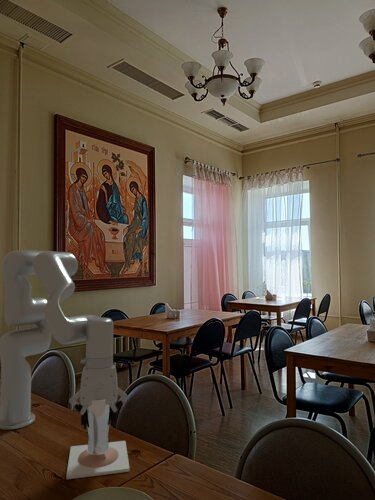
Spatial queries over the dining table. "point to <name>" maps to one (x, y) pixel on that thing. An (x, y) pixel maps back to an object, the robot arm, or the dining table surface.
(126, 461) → the card
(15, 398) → the robot arm
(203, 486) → the dining table surface
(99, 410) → the beer glass
